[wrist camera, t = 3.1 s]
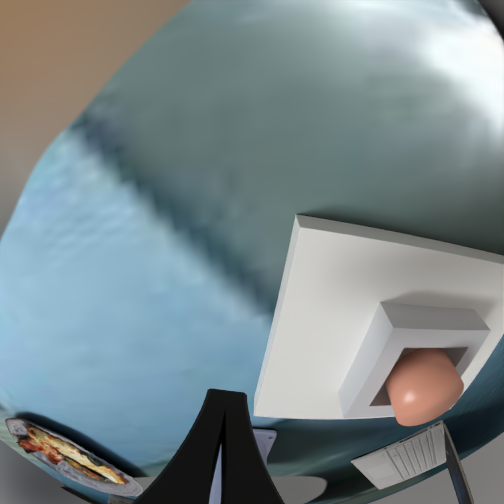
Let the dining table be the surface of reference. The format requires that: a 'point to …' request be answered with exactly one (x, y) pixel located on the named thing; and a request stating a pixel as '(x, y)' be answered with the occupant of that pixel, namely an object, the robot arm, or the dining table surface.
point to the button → (423, 386)
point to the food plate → (71, 459)
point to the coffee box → (118, 500)
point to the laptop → (416, 460)
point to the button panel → (372, 317)
